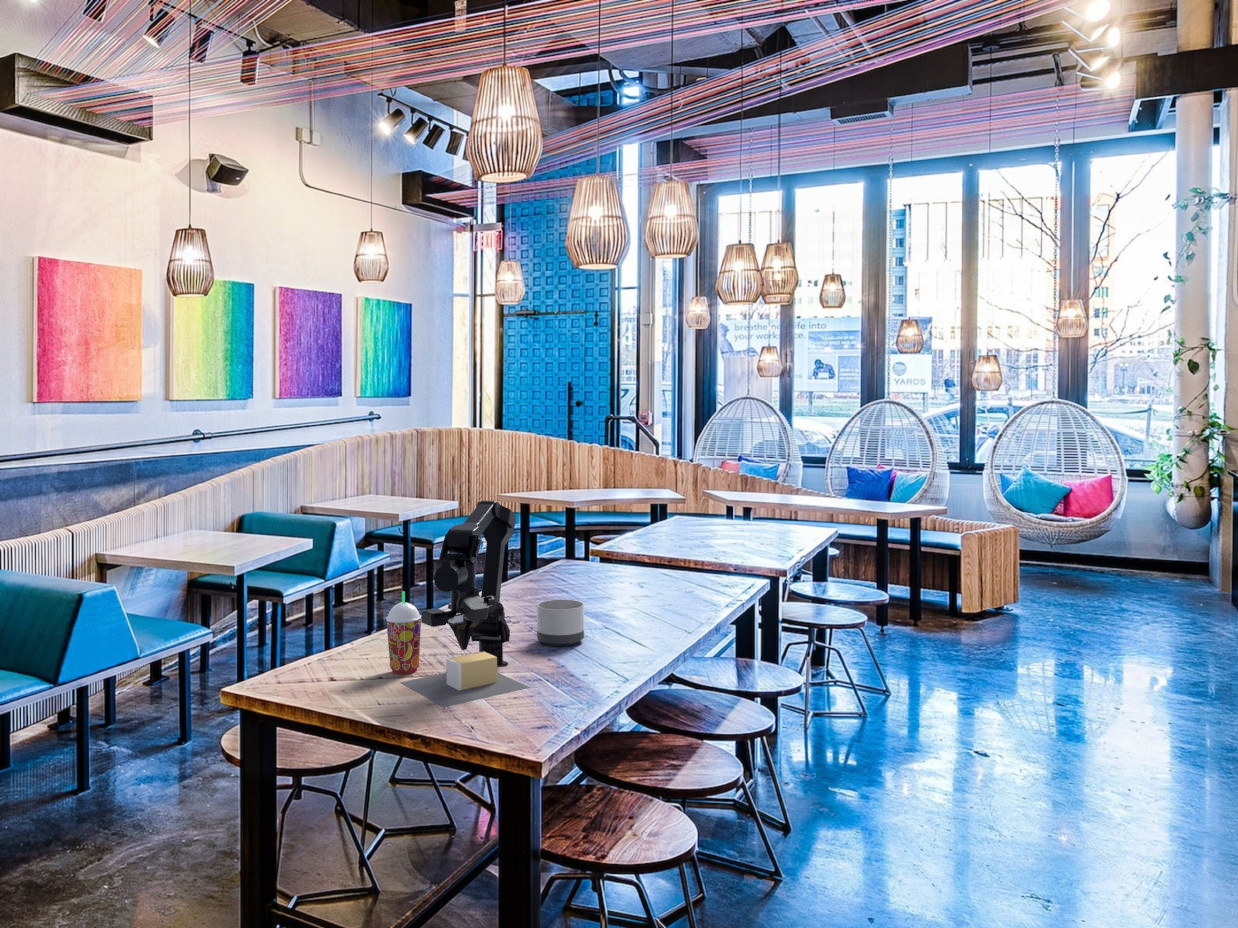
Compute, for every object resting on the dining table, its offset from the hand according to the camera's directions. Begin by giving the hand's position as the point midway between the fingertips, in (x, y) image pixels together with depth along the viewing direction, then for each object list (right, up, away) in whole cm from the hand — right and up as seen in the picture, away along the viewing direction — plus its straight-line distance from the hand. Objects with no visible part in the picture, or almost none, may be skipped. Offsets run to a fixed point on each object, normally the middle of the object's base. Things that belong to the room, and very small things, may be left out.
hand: (463, 649), depth 214 cm
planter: (+20, -6, +40) cm, 45 cm away
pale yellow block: (-2, -5, -1) cm, 6 cm away
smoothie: (-16, -8, +12) cm, 22 cm away
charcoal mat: (0, -9, +1) cm, 9 cm away
